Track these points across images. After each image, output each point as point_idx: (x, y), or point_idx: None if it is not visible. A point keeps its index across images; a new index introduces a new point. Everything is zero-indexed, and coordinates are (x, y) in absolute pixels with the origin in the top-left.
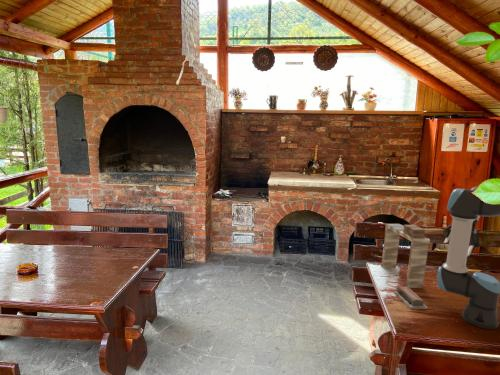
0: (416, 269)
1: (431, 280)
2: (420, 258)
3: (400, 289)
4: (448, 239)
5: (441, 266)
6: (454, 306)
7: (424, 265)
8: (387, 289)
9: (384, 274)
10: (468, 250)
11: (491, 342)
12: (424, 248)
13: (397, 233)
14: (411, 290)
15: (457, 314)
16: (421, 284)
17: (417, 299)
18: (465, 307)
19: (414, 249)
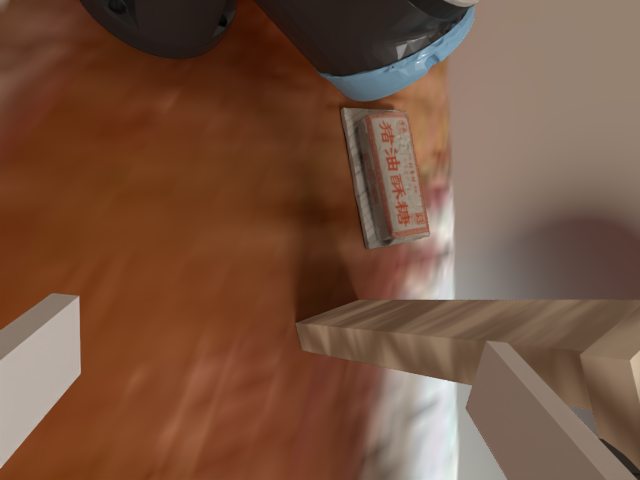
0: (410, 310)
1: (202, 464)
2: (464, 318)
3: (425, 210)
4: (530, 382)
5: (467, 18)
6: (214, 123)
7: (392, 328)
8: (431, 263)
9: (420, 434)
10: (8, 428)
11: None
12: (536, 331)
13: None
14: (393, 200)
15: (237, 52)
16: (312, 321)
17: (395, 113)
18: (218, 22)
19: (573, 302)
